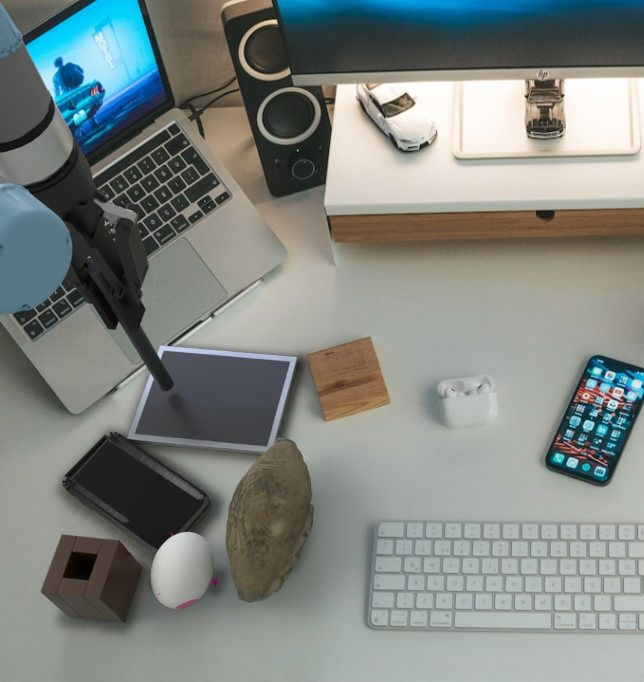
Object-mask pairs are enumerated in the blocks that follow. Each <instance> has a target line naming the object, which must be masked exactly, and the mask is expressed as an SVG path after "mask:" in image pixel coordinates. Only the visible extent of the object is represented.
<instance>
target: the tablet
mask: <svg viewBox="0 0 644 682" xmlns="http://www.w3.org/2000/svg"><path fill="white" fill-rule="evenodd" d="M156 353H157V354H158V356H159V358H160V359H161V361H162V363H163V364H164V366H165V368H166V370H167V371H168V373H169V375H170V376H171V378H172V380H173V382H174V386H173V388H172V389H171V390H169V391H162V390H161V389H160V388H159V386H158V385H157V383H156V381H155V380H154V378H153V377H152V375H151V373H150V372H149V375H148V379H147V381H146V383H145V386H144V389H143V392H142V395H141V398H140V400H139V404H138V406H137V409H136V412H135V415H134V418H133V420H132V423H131V426H130V429H129V432H128V435H127V437H126V438H127V439H128V440H130V441H131V442H133V443H134V444H145V445H156V446H167V447H177V448H187V449H197V450H209V451H219V452H229V453H230V452H231V453H240V454H248V455H249V454H251V455H261V456H262V455H263V453H264V452H266V451H267V450H268V449H269V448H270V447H271V446H273V445H274V443H275V440H276V439H277V438H279V435H280V431H281V428H282V424H283V420H284V418H285V414H286V409H287V406H288V403H289V399H290V395H291V391H292V387H293V384H294V380H295V377H296V372H297V370H298V365H299V358H298V357H297V356H285V355H276V354H275V355H274V354H262V353H251V352H240V351H230V350H227V351H226V350H217V349H206V348H205V349H204V348H194V347H184V346H182V347H181V346H172V345H159V347H158V349H157V352H156Z"/></svg>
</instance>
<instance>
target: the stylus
mask: <svg viewBox="0 0 644 682" xmlns="http://www.w3.org/2000/svg"><path fill="white" fill-rule="evenodd" d="M88 272H89V274H90V275H91V277H92V279H93V280H94V282H95V283H96V285H97V287H98V288H99V290H100V292H101V293H102V295H103V297H104V298H105V300H106V301H107V303H108V305H109V306H110V308H111V310H112V311H113V313H114V314H115V316H116V318H117V319H118V321H119V322H118V324H120V326H121V327H122V329H123V331H124V333H125V334H126V336H127V337H128V340H129V341H130V342H131V344H132V346H133V348H134V350H136V352H137V355H139V357H140V359H141V360H142V362H143V364H144V365H145V367H146V369H147V370H148V372H149V374H150V373H151V375H152V377H153V378H154V380H155V381H156V383H157V385H158V386H159V388H160V389H161V390H162V391H169V390H171V389H172V388H173V386H174V382H173V380H172V378H171V376H170V375H169V373H168V371H167V370H166V368H165V366H164V364H163V363H162V361H161V359H160V358H159V356H158V354H157V353H158V352H157V350H156V349H155V347H154V345H153V344H152V342H151V341H150V338H149V337H148V336H147V333H146V332H145V331H144V329H143V327H142V325H141V324H140V327H139V329H138V332H134V331H130V330H129V328H128V327H127V325H126V323H125V322H124V320H123V318H122V317H121V315H120V313H119V312H118V310H117V308H116V307H115V305H114V303H113V302H112V300H111V298H110V297H109V295H108V293H107V291H108V289H109V286H110V284H109V282H108V281H107V280H106V278H105V277H104V275H103V274H102V273H101V271H100V270H99V268H98V267H97V266H96V264H95V263H94V261H93V262H91V263H90V264H89V265H88Z"/></svg>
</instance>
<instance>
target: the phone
mask: <svg viewBox="0 0 644 682" xmlns="http://www.w3.org/2000/svg"><path fill="white" fill-rule="evenodd" d="M61 484H62V487H63V488H64V489H65V490H66V491H67V492H68V493H69V494H70V495H71V496H72V497H73V498H75V499H77V500H78V501H79V502H80V503H81V504H83V505H84V506H86V507H87V508H88V509H90V510H91V511H92V512H95V514H97V515H98V516H100V517H101V518H103V519H104V520H105V521H107V522H108V523H110V524H111V525H112V526H113V527H115V528H116V529H117V530H119V531H120V532H122V533H123V534H125V536H127V537H128V538H130V539H131V540H132V541H134V542H135V543H137V544H138V545H139V546H141V547H142V548H144V549H145V550H146V551H148V552H149V553H151V555H153V556H154V557H155V556H156V554H157V552H158V550H159V549H160V547H161V546H162V545H163V544H164V543H165V542H166V541H167V540H168V539H169V538H171V537H172V535H173V536H174V535H176V534H179V533H182V532H192V531H193V530H194V529H195V528H196V526H198V525H199V523H200V522H201V521H203V519H204V518H205V517H206V516H207V514H208V513H209V512H210V511H211V509H212V506H213V502H212V500H211V498H210V497H209V495H208V493H206V492H205V491H203V490H202V489H201V488H199V487H197V485H195V484H194V483H192V482H191V481H189V480H188V479H187V478H184V476H182V475H181V474H179V473H178V472H176V471H174V470H173V469H172V468H171V467H169V466H167V465H166V464H164V463H163V462H162V461H160V460H159V459H157V458H156V457H155V456H153V455H152V454H150V453H149V452H147V451H146V450H144V449H143V448H142V447H140V446H139V445H137V443H134V442H131V441H130V440H128V439H127V437H125V436H124V435H123V434H121V433H119V432H117V431H109V432H106V433H105V434H104V435H103V436H102V437H101V438H100V439H99V440H98V441H97V442H95V444H94V445H93V446H92V447H91V448H90V449H89V450H88V451H87V452H86V453H85V454H84V455H83V456H82V457H81V458H80V459H79V460H78V461H77V462H76V463H75V464H74V465H73V466H72V467H71V468H70V469H69V470H68V471H67V472H66V473H65V474H64V476H63V477H62V479H61ZM171 533H172V534H171Z"/></svg>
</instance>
